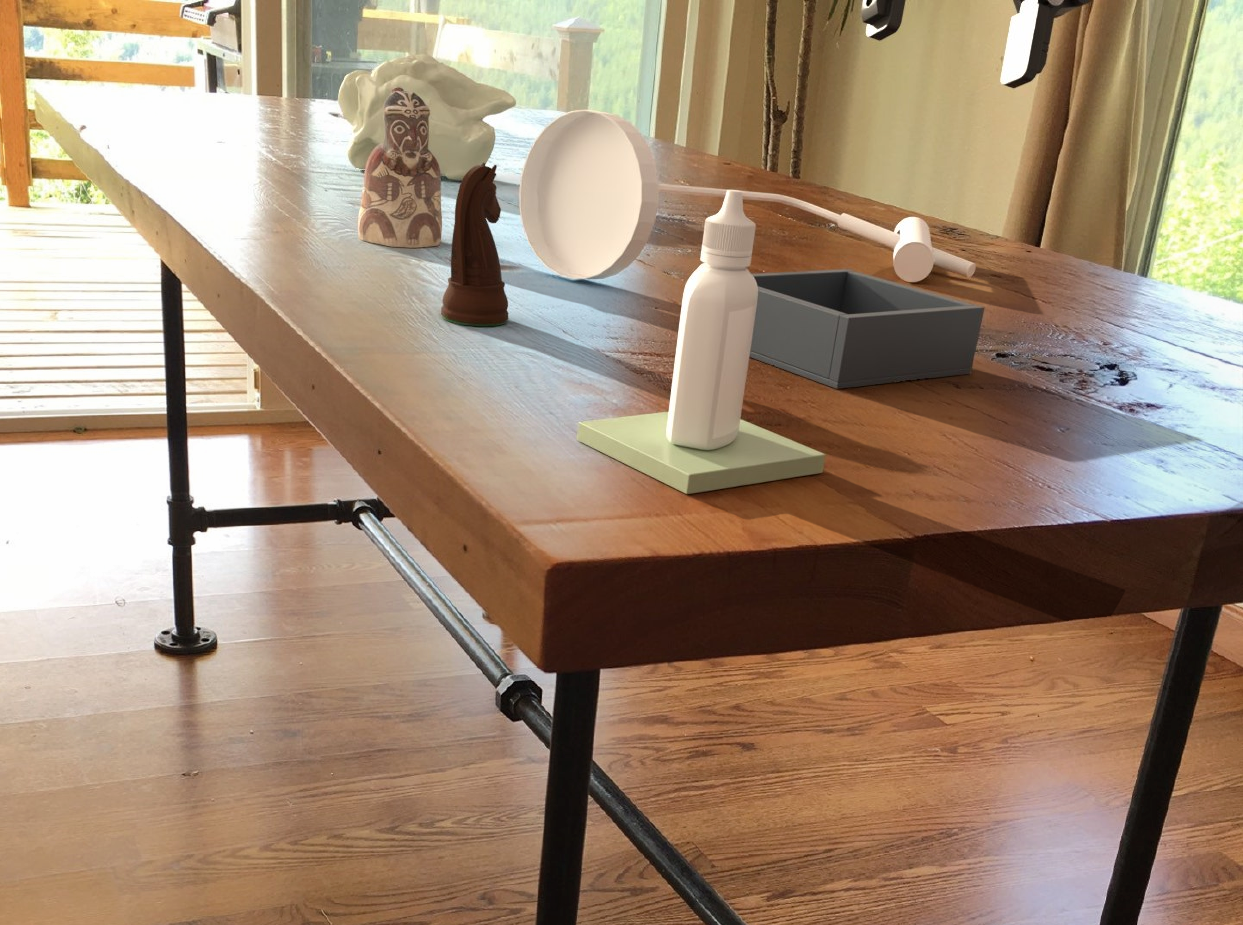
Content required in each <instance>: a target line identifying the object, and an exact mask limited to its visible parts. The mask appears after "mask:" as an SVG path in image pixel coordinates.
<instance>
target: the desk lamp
mask: <svg viewBox="0 0 1243 925" xmlns="http://www.w3.org/2000/svg"><path fill="white" fill-rule="evenodd" d="M656 164H657V163H656V161H655V158H654V155H653V153H652V150H651V147H650V146H649V144H648V143H647V141H646V139H645V137H644V135H643V134H642V133H641V132H640V131H639V129H638V128H636V127H635V125H633V124H632V122H630V121H629V120H627V119H625V118H624V117H622V116H620V115H618V114H615V113H610V112H606V111H601V110H600V111H599V110H593V109H577V110H570V111H568V112H566V113H564V114H563V113H562V114H560V115H558V116H557V117H556V118H555V119H553V120H552V121H551V122H550V123H548V124H547V125H546V126H545V127H544V128H543V129H542V131H541V132H540V133H539V134H538V136H537V137H536V138H535V140H534V141H533V144H532V145H531V148H529V151H528V153H527V155H526V158H525V162H524V164H523V167H522V171H521V176H520V184H519V191H518V192H519V195H518V196H519V200H518V201H519V202H518V204H519V213H520V219H521V223H522V224H521V225H522V226H521V227H522V228H523V231H524V234H525V237H526V241H527V243H528V244H529V246H530V248H531V249H532V252H533V253H534V255H535V257H536V258H537V259H538V260H539V261H540V262H541V263H542V264H543V265H544V266H545V267H546V268H547V269H548V270H550V271H552V272H553V273H555V274H556V275H557V276H561V277H563V278H568V279H570V280H603V279H607V278H610V277H613V276H617V275H618V274H619V273H621V272H622V271H624V270H625V269H627V268H629V266H630V265H631V264H632V263H633V262H634V261H635V260H636V259H637V258H638V257H639V256H640V254H641V253H642V251H643V250H644V248H645V246H646V245H647V243H648V241H649V239H650V237H651V234H652V231H653V229H654V226H655V223H656V219H657V214H658V210H659V203H660V202H659V201H660V196H659V195H660V194H671V195H672V194H673V195H684V196H685V195H686V196H698V197H707V198H708V197H709V198H721V199H722V198H723V199H725V197H726V193H727V190H728V189H725V188H714V187H702V186H691V185H681V184H670V183H669V184H668V183H660V182H659V176H658V169H657V165H656ZM741 191H742V199H743V200H746V201H747V200H748V201H758V202H759V201H760V202H771V203H777V204H782V205H786V206H790V207H792V208H793V207H794V208H797V209H800V210H803V211H805V212H808V213H810V214H814V215H816V216H818V217H821V218H823V219H826V220H829V221H831V222H834V223H837V224H836V225H837V227H838V228H840V229H842V230H844V231H847V232H850V233H852V234H855V235H858V236H859V237H862V238H864V239H865V238H866V239H867V240H870V241H873V242H875V243H878V244H881V245H882V246H885V247H888V248H891V249H893V263H892V264H893V270H894V272H895V274H896V275H897V277H898V278H900V279H901V280H902V281H905V282H906V283H907V282H908V283H917V282H920V281H922V280H924V279H925V278H927V277H928V276H929V274H930V273H931V272H932V270H933V268H934V266H936V267H939V268H941V269H944V270H947V271H948V272H951V273H955V274H957V275H958V276H962V277H964V278H966V279H970V278H972V277H973V275H974V273H975V271H976V269H977V268H976V267H977V264H976V263H975V262H972V261H969V260H967V259H964V258H962V257H960V256H956V255H954V254H952V253H949V252H946V251H944V250H941V249H939V248H936V247H933V245H932V239H931V238H932V237H931V232H930V227H929V225H928V223H927V222H926V221H925V220H924V219H922V218H920V217H917V216H909V217H905V218H903V219H902V220H901V221H900V222H899V223H898V224H897V225H896V226H895V228H894V231H892V230H889V229H887V228H885V227H882V226H879V225H877V224H874V223H871V222H868V221H866V220H864V219H861V218H858V217H855V216H853V215H851V214H847V213H845V212H843V213H841V214H838V213H836V212H833V211H830V210H828V209H826V208H822V207H820V206H818V205H815V204H813V203H810V202H807V201H804V200H801V199H798V198H795V197H791V196H787V195H784V194H778V193H770V192H759V191H750V190H749V191H747V190H741ZM659 193H660V194H659Z"/></svg>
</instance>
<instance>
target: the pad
mask: <svg viewBox="0 0 1243 925" xmlns="http://www.w3.org/2000/svg"><path fill="white" fill-rule="evenodd" d="M668 414H669V411H661V412H660V411H659V412H654V413H645V414H634V415H627V416H618V417H611V418H610V417H609V418H602V419H593V420H584V421H578V426H577V434H576V435H577V436H576V441H578V442H580V443H582V444H583V445H585V446H587V447H590V448H592V449H593V450H596V451H598V452H600V453H602V454H604V455H606V456H608V457H610V458H613V459H614V460H616V461H618V462H620V463H622V464H625V465H626V466H628V467H630V468H632V469H635V470H636V471H639V472H640V473H642V474H644V475H647V476H648V477H651V478H653V479H654V480H657V481H659V482H661V483H663V484H665V485H667V486H669V487H671V488H673V489H675V490H677V491H679V492H681V493H683V494H685V495H692V494H698V493H705V492H710V491H717V490H723V489H731V488H735V487H742V486H749V485H753V484H754V485H755V484H761V483H767V482H773V481H779V480H781V481H782V480H787V479H793V478H798V477H805V476H812V475H818V474H823V472H824V467H825V462H826V461H825V460H826V454H825V453H823V452H821V451H818V450H816V449H813V448H811V447H809V446H806V445H804V444H801V443H799V442H796V441H794V440H792V439H790V438H787V437H785V436H782V435H780V434H778V433H775V432H773V431H770V430H768V429H766V428H763V427H760V426H758V425H756V424H753V423H751V422H748V421H746V420H745V419H741V418H740V425H739V431H738V434H737V436H736V438H735V439H734V441H732V442H731V443H730V444H728V445H726V446H724V447H721V448H718V449H714V450H701V449H695V448H690V447H684V446H679V445H675V444H672V443H671V442H669V440H668V438H667V422H668Z"/></svg>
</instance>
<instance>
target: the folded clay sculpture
mask: <svg viewBox="0 0 1243 925" xmlns="http://www.w3.org/2000/svg"><path fill="white" fill-rule="evenodd" d="M395 87H400V88H402V89H403V90H404V91H410V92H414V93H415V94H416V95H418V96H419V97H420V98H421V99H422V100H423V101H424V103H425V105H426V106H427V107H428V108H429V109H430V115H429V141H428V150H430V152H431V153H432V154H433V156H434V157H435V158H436V160H437V162H438V164H439V168H440V175H441V176H444V177H446V178H447V179H449V180H453V181H462V179H463V178H464V176H465V174H466V173H467V172H468V171H469V170H470V169H471V168H473V167H474V166H477V165H482V164H483V163H485V166H487V165H486V164H488V161H489V159H490V157H491V155H492V153H493V150H494V148H495V143H496V139H497V138H496V130H495V127H494V126H491V125H490V124H489V123H488V122H486V121H484V119H485V118H486V117H489V116H493V115H498V114H502V113H503V112H506V111H508V110H511V109H512V108H514V107H516V105H517V101H516V99H515V97H514V96H513V95H512V94H511V93H509V92H508V91H506V90H505V89H501V88H499V87H495V86H491V85H488V84H486V83H485V84H484V83H481V82H476V81H475V80H474V79H472V78H471V77H469V76H467V75H465V74H464V73H463V72H460V71H459V70H457V69H456V68H455V67H453V66H449V65H446V64H445V63H444V62H440V61H438V60H437V59H436V58H435V57H433V56H431V55H428V54H425V53H422V54H410V55H406V56H400V57H395V58H394V59H392V60H385V61H384V62H382V63H381V64H380V65H378V66H377V67H374V68H373V69H372V70H371V71H368V70H364V69H361V70H360V69H356V70H353V71H352V72H350V73H348V74H346V75H345V76H344V79H343V81H342V83H341V85H340V87H339V90H338V95H337V103H338V105H339V107H340V108H339V109H340V110H341V113H342V117H343V119H344V120H346V121H347V122H348V123H349V124H350V125H351V126H352V129H351V132H352V135H351V136H350V138H349V141H348V144H347V148H346V154H347V158H348V161H349V163H350V164H351V165H352V166H353V167H354V169H356V168H359V169H365V167H366V163H367V160H368V158H369V156H370V154H371V153H372V151H373V150H374V149H375V147H376V146H378V145H379V144H381V143H383V142H384V122H383V106H384V103H385V101H386V99H387V98H388V96H389V95H390V94H391V93H392V89H394V88H395Z"/></svg>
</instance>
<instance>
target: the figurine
mask: <svg viewBox="0 0 1243 925" xmlns="http://www.w3.org/2000/svg"><path fill="white" fill-rule="evenodd" d="M429 115H430V109H429V108H428V107H427V106H426V105H425V103H424V101H423V100H422V99H421V98H420V97H419V96H418V95H416V94H415V93H414V92H410V91H404V90H403V89H402V88H400V87H395V88H394V89H392V93H391V94H390V95H389V96H388V98H387V99H386V101H385V103H384V106H383V122H384V142H383V143H381V144H379V145H378V146H376V147H375V149H374V150H373V151H372V153H371V154H370V156H369V158H368V160H367V163H366V167H365V171H363V172H364V173H363V174H364V176H363V185H362V193H361V201H360V205H359V211H358V216H357V232H358V238H359V240H361V241H363V242H368V243H371V244H376V245H381V246H387V247H392V248H411V249H416V248H417V249H418V248H429V247H437V246H440V245H441V242H442V233H443V232H442V231H443V214H442V189H441V188H442V186H441V185H442V179H441V178H442V177H441V176H442V175H440V168H439V164H438V162H437V160H436V158H435V157H434V156H433V154H432V153H431V152H430V150H428V141H429Z"/></svg>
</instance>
